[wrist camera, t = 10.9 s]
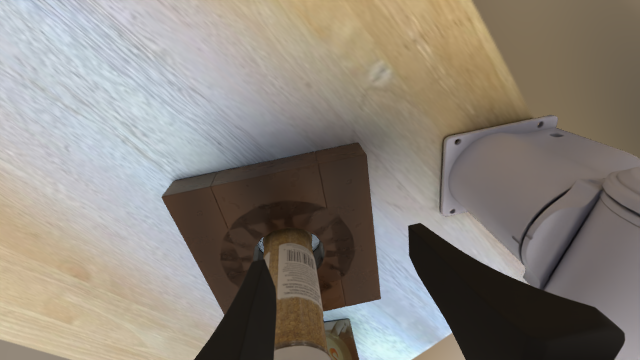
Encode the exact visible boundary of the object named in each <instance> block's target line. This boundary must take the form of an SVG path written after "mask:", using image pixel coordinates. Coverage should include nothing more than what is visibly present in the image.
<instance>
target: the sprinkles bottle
mask: <svg viewBox="0 0 640 360" xmlns="http://www.w3.org/2000/svg"><path fill="white" fill-rule="evenodd" d="M263 246H264V255H263V259H265V261H266V264H267V267H268V269H269V272H270V274H271V277H272V280H273V282H274V285H275V287H276V304H277V312H276V330H275V346H274V360H331V358H330V357H329V356H328V355H329V351H328V350H327V341H326V335H325V328H324V322H323V308H322V302H321V295H320V289H319V282H318V276H317V270H316V263H315V259H314V256H313V250H312V235H311V233H310V232H308V231H306V230H304V229H298V228H285V229H280V230H275V231H273V232H271V233H269V234H268V235H266V236H264V238H263Z"/></svg>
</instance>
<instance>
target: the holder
mask: <svg viewBox="0 0 640 360" xmlns="http://www.w3.org/2000/svg"><path fill="white" fill-rule="evenodd" d="M162 199H163V201H164V203H165V205H166V207H167V208H168V210H169V212H170V214H171V216H172V218H173V220H174V222H175V223H176V225H177V227H178V229H179V231H180V233H181V235H182V236H183V238H184V240H185V242H186V244H187V246H188V248H189V249H190V251H191V253H192V255H193V257H194V259H195V261H196V262H197V264H198V266H199V268H200V270H201V272H202V274H203V276H204V277H205V279H206V281H207V283H208V285H209V287H210V289H211V290H212V292H213V294H214V296H215V298H216V300H217V302H218V303H219V305H220V307H221V309H222V311H223V313H224V315H225V314H226V312H227V310H228V309H229V307H230V305H231V303H232V301H233V300H234V298H235V296H236V294H237V292H238V290H239V288H240V286H241V284H242V282H243V280H244V278H245V276H246V273H247V271H248V269H249V267H250V265H251V263H252V262H254V261H258V260H262V259H263V255H264V254H263V253H262V252H261V251H260V250H259V248H258V245H257V244H258V242H259V241H260V240H261V238H263V237H264V236H266V235H268V234H269V233H271V232H273V231H275V230H280V229H285V228H298V229H304V230H306V231H308V232H310V233H312V234H314V235H316V236H317V238H318V239H319V240H320V244H319V246H318V248H317V249H316V250H315V251H314V252H313V256H314V259H315V263H316V270H317V276H318V282H319V289H320V295H321V302H322V308H323V311H328V310H332V309H337V308H342V307H345V306H346V307H347V306H351V305H356V304H360V303H365V302H370V301H374V300H379V299H381V295H380V285H379V275H378V265H377V255H376V245H375V235H374V225H373V215H372V205H371V195H370V185H369V175H368V165H367V155H366V153H365V152H364V150H363V149H362V147H361V146H360V144H359V143H353V144H349V145H344V146H339V147H334V148H329V149H324V150H320V151H315V152H310V153H305V154H300V155H296V156H291V157H286V158H281V159H276V160H272V161H267V162H262V163H257V164H252V165H248V166H243V167H238V168H233V169H228V170H223V171H219V172H214V173H210V174H205V175H200V176H195V177H190V178H185V179H181V180H176V181H173V182H172V184H171V185H170V186H169V188H168V189H167V190H166V192H165V193H164V194H163V196H162Z"/></svg>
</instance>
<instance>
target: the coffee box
mask: <svg viewBox="0 0 640 360" xmlns="http://www.w3.org/2000/svg"><path fill="white" fill-rule="evenodd" d="M324 328H325V335H326V341H327V350H328V351H329V355H328V356H329V357H330V358H331V360H359V357H358V353H357V349H356V345H355V340H354V336H353V332H352V328H351V323H350V320H349V319H345V320H338V321H332V322H325V323H324Z"/></svg>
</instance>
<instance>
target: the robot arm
mask: <svg viewBox="0 0 640 360" xmlns="http://www.w3.org/2000/svg"><path fill="white" fill-rule="evenodd" d="M557 121H558V118H557V117H556V116H554V115H548V116H543V117H539V118H534V119H529V120H524V121H519V122H515V123H510V124H505V125H500V126H495V127H491V128H486V129H481V130H476V131H471V132H467V133H462V134H457V135H452V136H449V137H447V138H446V139H445V140H444V149H443V170H442V191H441V214H442V215H443V216H451V215H456V214H461V213H465V212H469V213H470V214H471V215H472V216H473V217H474V218H475V219H476V220H477V221H478V222H479V223H481V224H482V225H483V226H484V227H485V228H486V229H487V230H488V231H489V232H490V233H491V234H492V235H493V236H494V237H495V238H496V239H497V240H498V241H499V242H500V243H501V244H502V245H503V246H505V247H506V248H507V249H508V250H509V251H510V252H511V253H512V254H513V255H514V256H515V257H516V258H517V259H518V260H519V261H520V262H521V263H522V264H523V265H524V266H525V273H524V276H523V278H524V279H525V280H526V281H527V282H528V283H529V284H530V285H528V284H526V283H523V282H521V281H519V280H516V279H514V278H511V277H509V276H507V275H505V274H503V273H501V272H499V271H497V270H495V269H493V268H491V267H489V266H487V265H485V264H483V263H481V262H479V261H477V260H476V259H474V258H472V257H471V256H469V255H467V254H465V253H464V252H462V251H461V250H459V249H458V248H456V247H454V246H453V245H451V244H450V243H448V242H447V241H445V240H444V239H442V238H441V237H440V236H438V235H437V234H435V233H434V232H433V231H431V230H430V229H428V228H427V227H425V226H424V225H423V224H421V223H418V224H414V225H409V226H408V231H409V256H410V259H411V261H412V263H413V265H414V267H415V270H416V272H417V274H418V276H419V277H420V279H421V281H422V282H423V284H424V285H425V287H426V289H427V290H428V292H429V294H430V295H431V297H432V298H433V300H434V302H435V303H436V305H437V306H438V308H439V310H440V311H441V313H442V314H443V316H444V318H445V320H446V321H447V323H448V325H449V327H450V329H451V331H452V333H453V335H454V337H455V339H456V341H457V343H458V344H459V347H460V349H461V351H462V353H463V355H464V357H465V359H466V360H640V159H639V158H638V157H636V156H634V155H632V154H630V153H628V152H626V151H623V150H620V149H617V148H614V147H611V146H608V145H605V144H602V143H599V142H596V141H593V140H590V139H587V138H585V137H581V136H579V135H576V134H573V133H570V132H567V131H564V130H561V129H558V128H556V125H557ZM539 122H540V123H539ZM538 123H539V125H538ZM537 125H538V126H537ZM457 139H458V142H457V143H455V141H456V140H457ZM452 209H453V210H452ZM451 210H452V211H451ZM276 312H277V304H276V287H275V285H274V282H273V280H272V277H271V274H270V272H269V269H268V267H267V264H266V261H265V259H262V260H258V261H254V262H252V263H251V265H250V267H249V269H248V271H247V273H246V276H245V278H244V280H243V282H242V284H241V286H240V288H239V290H238V292H237V294H236V296H235V298H234V300H233V301H232V303H231V305H230V307H229V309H228V310H227V312H226V314H225V315H224V317H223V319H222V320H221V322H220V324H219V325H218V327H217V328H216V330H215V331H214V333H213V334H212V336H211V337H210V339H209V340H208V342H207V343H206V344H205V346H204V347H203V348H202V350H201V351H200V352H199V354H198V355H197V356H196V358H195V359H194V360H274V346H275V330H276Z"/></svg>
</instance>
